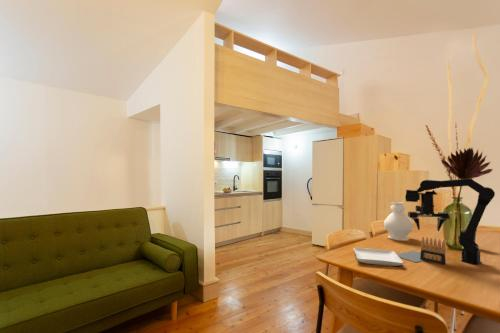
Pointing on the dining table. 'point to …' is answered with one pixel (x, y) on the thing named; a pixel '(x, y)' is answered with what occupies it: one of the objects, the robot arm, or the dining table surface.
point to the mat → (411, 256)
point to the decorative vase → (398, 222)
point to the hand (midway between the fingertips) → (428, 230)
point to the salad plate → (378, 256)
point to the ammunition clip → (433, 251)
